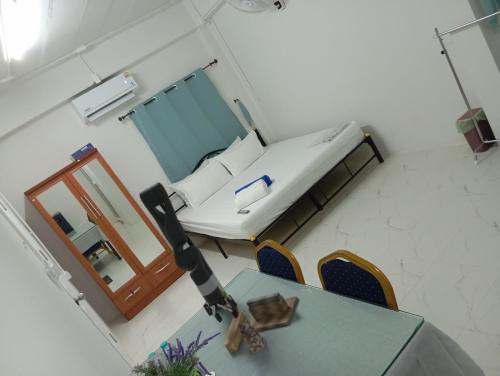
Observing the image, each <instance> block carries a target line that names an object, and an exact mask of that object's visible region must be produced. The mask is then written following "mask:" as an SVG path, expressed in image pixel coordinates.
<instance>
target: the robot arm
mask: <svg viewBox="0 0 500 376" xmlns="http://www.w3.org/2000/svg"><path fill="white" fill-rule="evenodd" d="M138 195H139V196H138V197H139V199H140V201H141V202H142V204H143V206H144V207H145V208H146V209H147V211H148V213H149V214H150V215H151V217H152V218H153V219H154V221H155V222H156V224H157V226H158V228H159V229H160V231H161V233H162V234H163V236H164V238H165V239H166V241H167V242H168V244H169V245H170V246H171V248H172V251H173V252H172V253H173V258H174V262H175V265H176V266H177V268H178V269H180V270H185V271H187V272H190V273H189V277H190V278H191V281H192V282H193V283H194V285H195V286H196V288H197V290H198V292H199V293H200V295H201V296H202V297H203V300H204V301H205V302H204V303H203V308H204V310H205V312H206V313H207V315H208V316H209V317H211V316H212V317H214V318H215V319H216V321H217V322H218V323H222V321H223V318H222V316H221V314H220V313H219V312H218V311H219V310H225V311H228V310H229V311H231V313H232V314H231V313H230V314H231V315H232V316H233V317H234V318H237V317H238V313H237V311H236V307H237V306H238V303H237V302H236V300H235V299H234V298H233V297H232V295H231V294H228V292H227V291H226V289H225V288H224V287H223V285H222V283H221V282H220V280H219V279H218V277H217V275H216V274H215V272H214V270H213V269H212V267H210V265H209V263H208V262H207V260H206V258H205V256H204V254H203V253H202V251H201V250H200V249H199V248H198V247H197V246H195V245H190V246H188V247H186V248H184V246H185V245H186V244H187V243H188V236H187V235H186V230H185V228H184V227H183V225H182V223H181V221H180V220H179V218H178V216H177V214H176V210H175V208H174V206H173V204H172V201H171V198H170V196H169V194H168V192H167V190H166V187H165V186H164V185H163V184H162V183H161V182H160V181H157V182H155V183H152V185H150V186H148V187H145V188H143V189H142V190H140V192H139V193H138ZM163 204H164V209H165V212H163V211H161V210H159V209H158V208H157V207H159V206H161V205H163ZM221 290H222V291H223V292H224V291H225V292H226V296H228V297H224V296H223V295H222V291H221ZM226 304H227V306H225V305H226ZM233 304H234V305H233ZM229 307H231V308H229ZM237 308H238V307H237ZM229 311H228V312H229Z"/></svg>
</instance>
